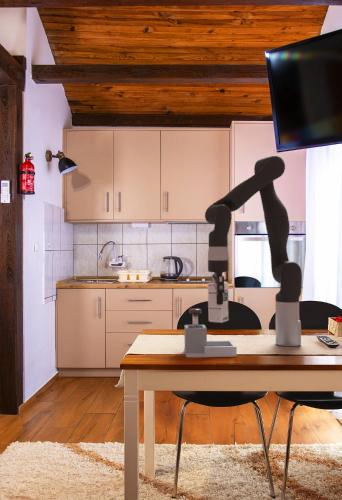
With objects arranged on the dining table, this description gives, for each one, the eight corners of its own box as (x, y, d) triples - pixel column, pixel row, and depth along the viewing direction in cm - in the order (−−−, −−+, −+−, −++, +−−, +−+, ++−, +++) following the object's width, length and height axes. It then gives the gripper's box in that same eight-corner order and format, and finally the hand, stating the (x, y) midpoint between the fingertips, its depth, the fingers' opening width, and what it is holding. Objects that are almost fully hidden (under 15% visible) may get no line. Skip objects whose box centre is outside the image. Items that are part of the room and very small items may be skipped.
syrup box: (222, 322, 171) (222, 282, 171) (207, 321, 174) (207, 282, 174) (229, 320, 176) (228, 281, 176) (214, 319, 179) (214, 281, 179)
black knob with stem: (200, 330, 177) (200, 308, 177) (201, 333, 173) (201, 310, 173) (188, 331, 177) (188, 308, 177) (189, 333, 173) (189, 310, 173)
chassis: (231, 349, 181) (231, 323, 181) (236, 356, 170) (236, 328, 170) (184, 350, 180) (184, 324, 180) (186, 357, 169) (186, 329, 169)
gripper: (231, 259, 168) (231, 305, 168) (225, 258, 182) (225, 300, 183) (210, 259, 168) (210, 305, 168) (205, 258, 182) (205, 301, 182)
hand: (218, 303), depth 175 cm, fingers closed on syrup box, 7 cm apart
